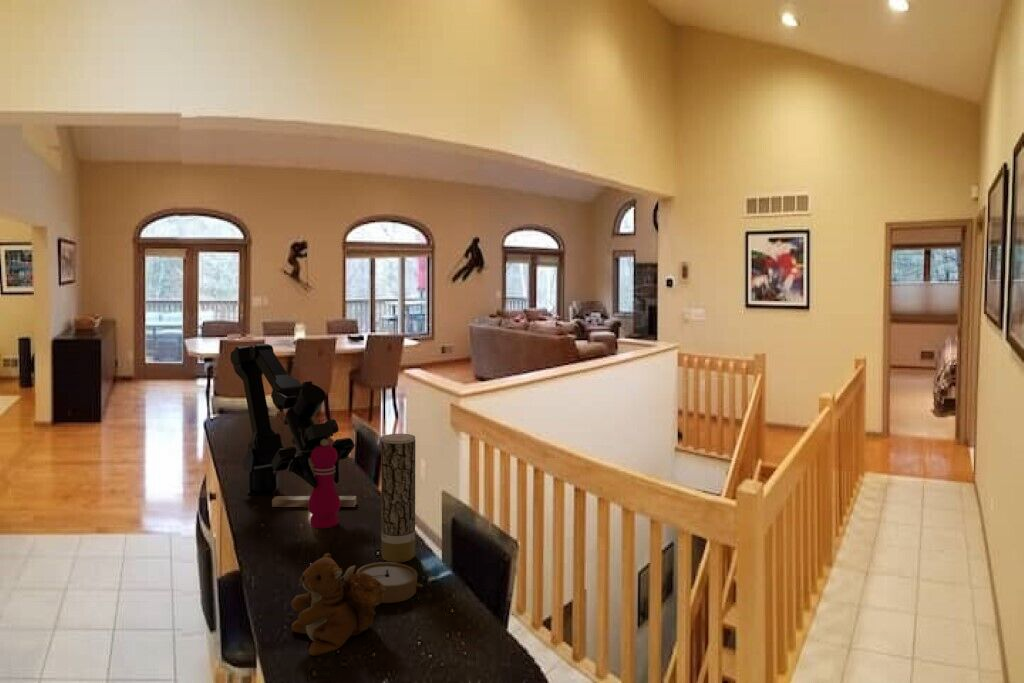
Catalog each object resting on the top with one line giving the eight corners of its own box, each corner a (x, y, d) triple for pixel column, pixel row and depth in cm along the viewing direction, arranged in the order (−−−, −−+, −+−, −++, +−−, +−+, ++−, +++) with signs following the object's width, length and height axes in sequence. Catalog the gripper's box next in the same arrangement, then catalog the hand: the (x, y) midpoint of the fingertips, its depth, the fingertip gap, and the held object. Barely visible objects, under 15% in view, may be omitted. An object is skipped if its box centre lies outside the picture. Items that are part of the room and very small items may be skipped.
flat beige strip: (272, 507, 175) (272, 500, 175) (275, 504, 178) (275, 496, 178) (354, 507, 176) (354, 499, 176) (356, 503, 179) (356, 496, 179)
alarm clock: (428, 581, 128) (347, 583, 121) (423, 608, 128) (342, 611, 121) (406, 559, 138) (330, 559, 131) (402, 584, 138) (325, 586, 131)
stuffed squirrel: (287, 630, 115) (285, 552, 114) (372, 613, 122) (372, 538, 121) (298, 660, 107) (297, 575, 105) (390, 640, 113) (390, 559, 112)
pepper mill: (301, 526, 163) (301, 440, 161) (321, 516, 169) (321, 433, 167) (327, 531, 160) (327, 443, 158) (346, 521, 166) (346, 437, 165)
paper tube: (387, 566, 141) (387, 442, 139) (377, 554, 147) (376, 435, 145) (419, 560, 144) (420, 439, 142) (408, 549, 150) (408, 432, 148)
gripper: (276, 413, 159) (300, 472, 152) (350, 404, 171) (375, 458, 164) (261, 442, 165) (284, 500, 158) (334, 431, 178) (357, 484, 171)
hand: (326, 484), depth 163 cm, fingers closed on pepper mill, 5 cm apart
